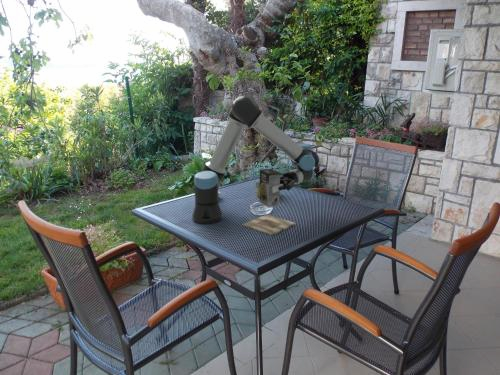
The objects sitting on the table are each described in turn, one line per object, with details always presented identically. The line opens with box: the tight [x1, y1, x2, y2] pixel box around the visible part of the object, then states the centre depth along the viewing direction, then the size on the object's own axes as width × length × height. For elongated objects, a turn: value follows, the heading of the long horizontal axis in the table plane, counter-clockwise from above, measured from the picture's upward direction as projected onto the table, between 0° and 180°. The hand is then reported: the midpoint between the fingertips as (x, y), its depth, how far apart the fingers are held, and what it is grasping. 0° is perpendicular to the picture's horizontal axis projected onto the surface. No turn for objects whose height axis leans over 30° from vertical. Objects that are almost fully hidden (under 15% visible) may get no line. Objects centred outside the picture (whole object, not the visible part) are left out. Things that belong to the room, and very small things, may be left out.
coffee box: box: [259, 168, 281, 208], centre depth 191 cm, size 9×6×16 cm
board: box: [242, 214, 296, 236], centre depth 196 cm, size 18×18×1 cm
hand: (263, 187), depth 187 cm, fingers closed on coffee box, 10 cm apart
